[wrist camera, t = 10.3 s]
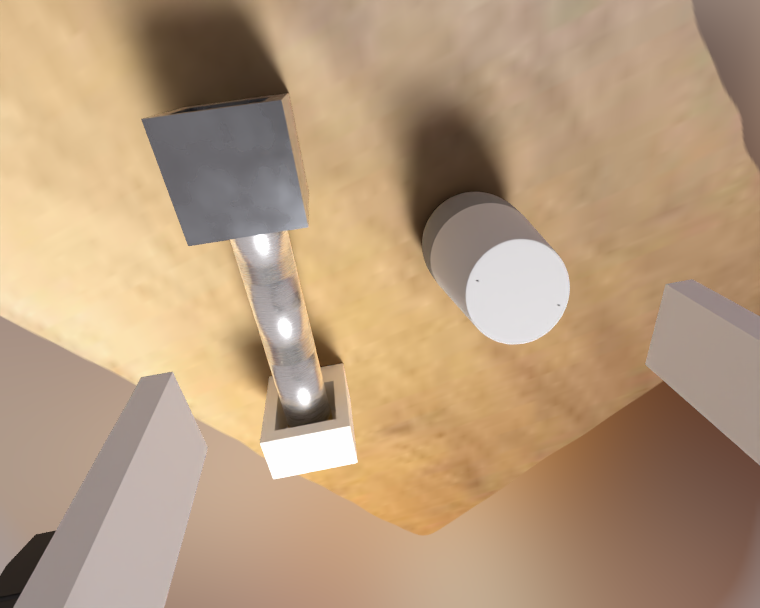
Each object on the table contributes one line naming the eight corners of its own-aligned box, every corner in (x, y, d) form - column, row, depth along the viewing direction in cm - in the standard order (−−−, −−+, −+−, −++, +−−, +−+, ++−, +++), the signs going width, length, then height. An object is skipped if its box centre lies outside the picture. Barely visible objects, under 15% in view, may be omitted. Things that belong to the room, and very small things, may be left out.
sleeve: (183, 107, 32) (141, 119, 24) (288, 92, 33) (281, 99, 25) (215, 207, 36) (188, 246, 28) (309, 193, 37) (308, 227, 29)
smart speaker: (525, 203, 40) (617, 259, 28) (482, 285, 44) (547, 366, 32) (438, 170, 38) (499, 217, 25) (400, 261, 41) (437, 339, 29)
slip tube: (216, 171, 32) (203, 185, 28) (275, 162, 32) (270, 175, 28) (291, 417, 45) (289, 450, 41) (333, 409, 45) (335, 441, 41)
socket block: (269, 376, 46) (259, 443, 38) (343, 363, 46) (350, 426, 38) (279, 409, 48) (273, 479, 40) (349, 396, 49) (357, 462, 41)
